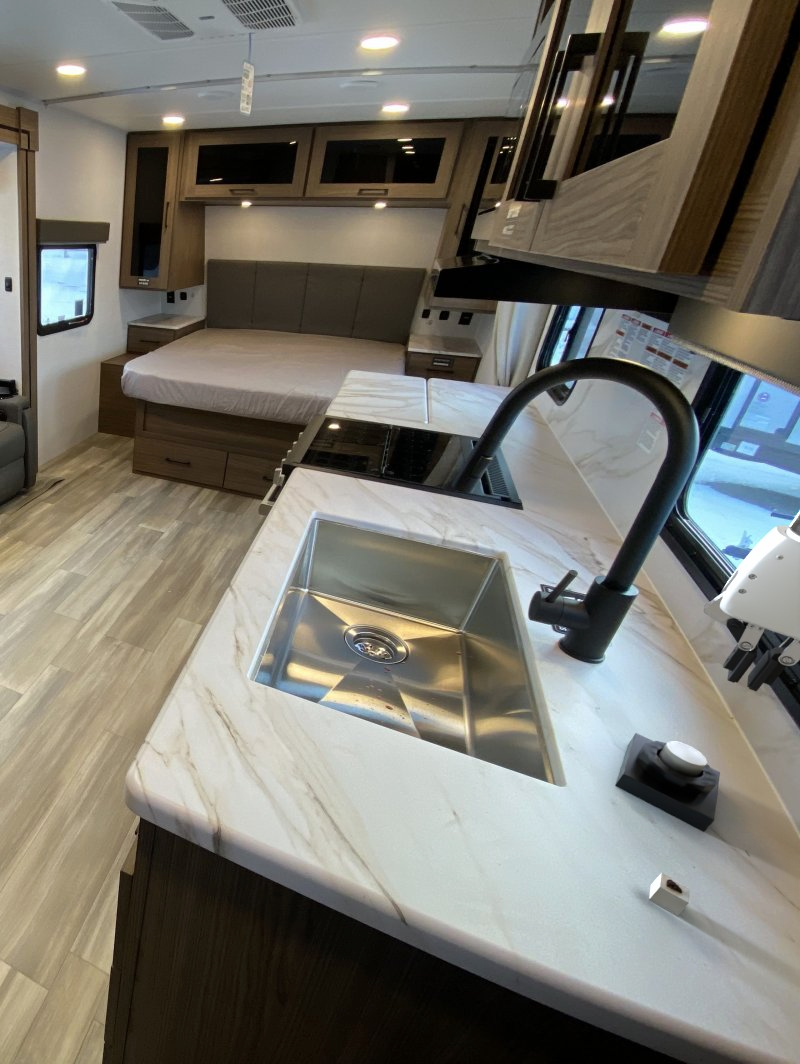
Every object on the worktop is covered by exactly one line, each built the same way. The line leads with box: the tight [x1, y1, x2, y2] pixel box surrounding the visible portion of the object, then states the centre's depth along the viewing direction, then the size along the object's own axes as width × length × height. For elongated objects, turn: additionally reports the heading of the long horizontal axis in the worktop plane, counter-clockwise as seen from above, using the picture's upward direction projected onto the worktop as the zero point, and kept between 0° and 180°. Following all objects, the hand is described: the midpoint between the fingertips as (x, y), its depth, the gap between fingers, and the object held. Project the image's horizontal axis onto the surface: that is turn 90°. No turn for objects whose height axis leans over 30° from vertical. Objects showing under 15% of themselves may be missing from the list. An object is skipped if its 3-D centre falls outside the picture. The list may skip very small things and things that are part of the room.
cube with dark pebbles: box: [648, 872, 691, 917], centre depth 58 cm, size 2×2×2 cm
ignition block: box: [614, 732, 721, 833], centre depth 70 cm, size 10×8×4 cm
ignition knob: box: [659, 740, 709, 777], centre depth 69 cm, size 4×4×2 cm
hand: (742, 679), depth 63 cm, fingers closed
